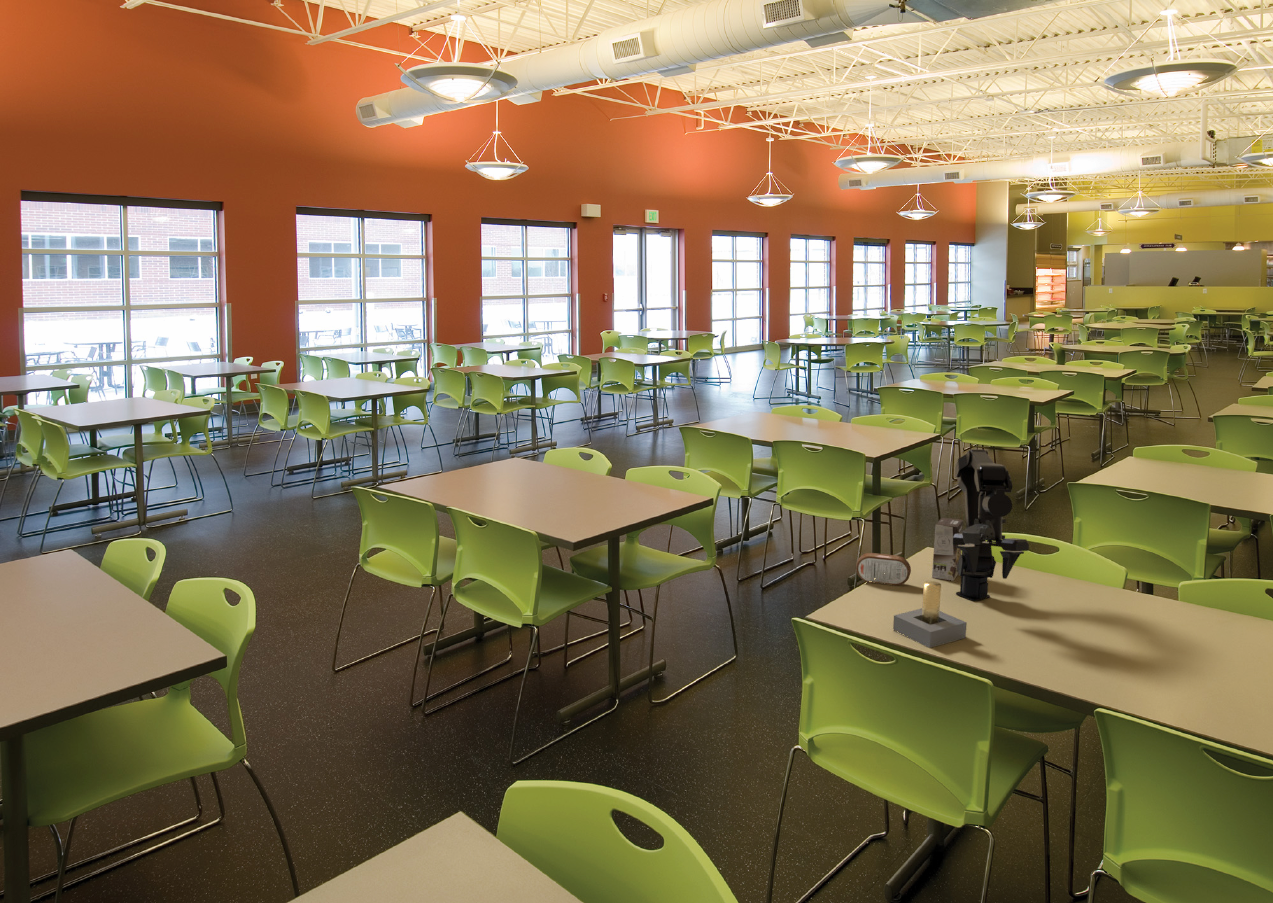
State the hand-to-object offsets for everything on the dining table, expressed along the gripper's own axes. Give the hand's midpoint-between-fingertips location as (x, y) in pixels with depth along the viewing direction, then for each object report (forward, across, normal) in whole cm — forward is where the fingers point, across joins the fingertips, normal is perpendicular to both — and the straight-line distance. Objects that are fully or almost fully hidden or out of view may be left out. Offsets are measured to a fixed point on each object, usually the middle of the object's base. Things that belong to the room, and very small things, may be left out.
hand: (988, 576), depth 231 cm
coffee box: (+4, -29, +20) cm, 36 cm away
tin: (+7, -35, 0) cm, 35 cm away
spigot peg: (+14, -3, -18) cm, 23 cm away
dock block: (+14, -3, -18) cm, 23 cm away
